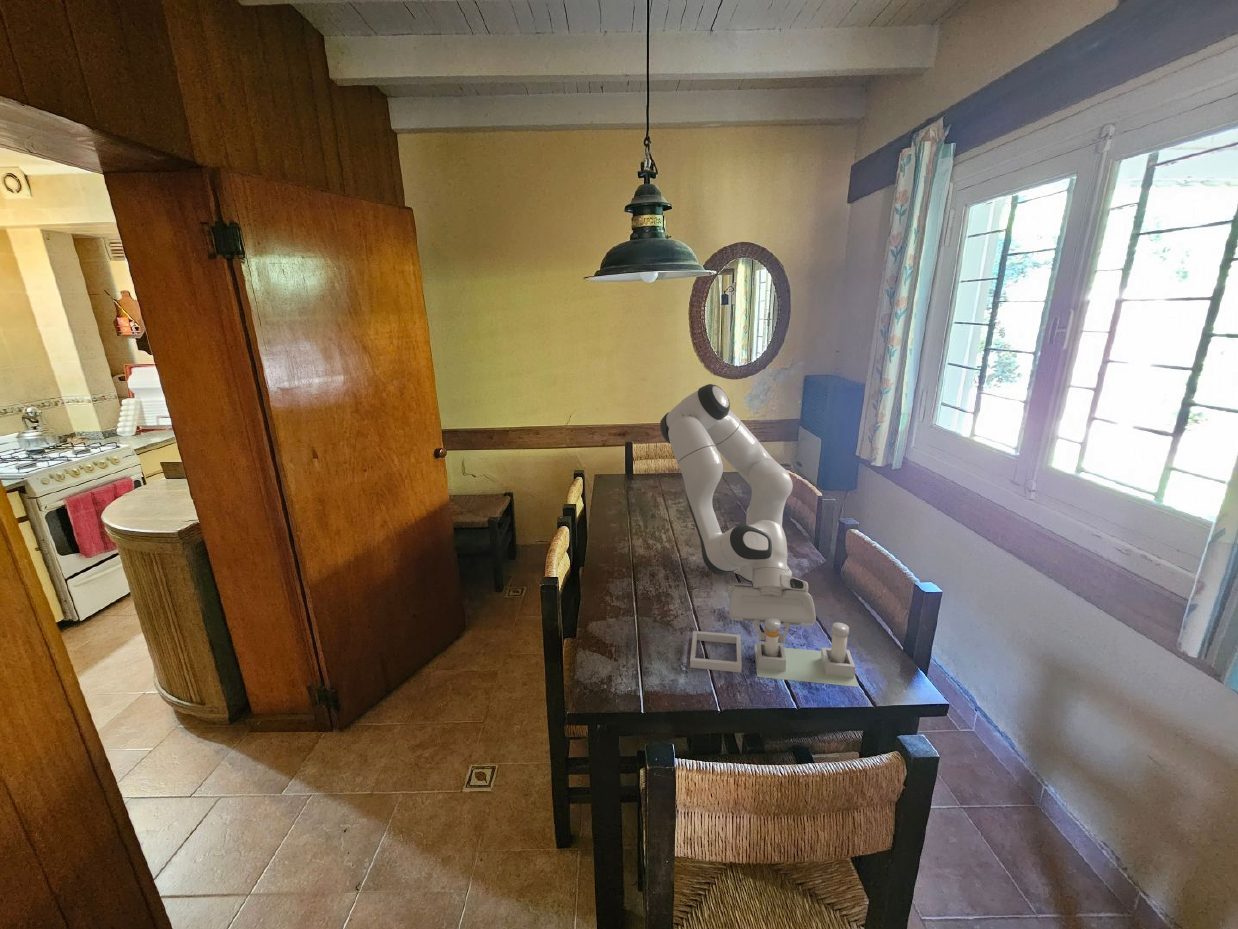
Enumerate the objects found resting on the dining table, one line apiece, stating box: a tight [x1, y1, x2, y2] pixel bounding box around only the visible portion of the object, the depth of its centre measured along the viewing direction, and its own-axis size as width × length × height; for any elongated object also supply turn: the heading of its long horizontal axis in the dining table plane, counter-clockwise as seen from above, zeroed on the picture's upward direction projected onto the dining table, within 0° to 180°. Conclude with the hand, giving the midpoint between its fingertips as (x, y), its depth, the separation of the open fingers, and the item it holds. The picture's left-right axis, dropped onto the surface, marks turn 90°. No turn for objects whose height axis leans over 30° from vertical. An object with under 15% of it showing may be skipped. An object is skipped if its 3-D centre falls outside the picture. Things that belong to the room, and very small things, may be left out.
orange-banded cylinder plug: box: [763, 617, 782, 658], centre depth 121 cm, size 4×4×11 cm
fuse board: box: [753, 641, 860, 688], centre depth 120 cm, size 12×22×4 cm, turn 78°
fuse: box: [829, 622, 850, 664], centre depth 117 cm, size 4×4×11 cm
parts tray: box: [689, 630, 743, 673], centre depth 125 cm, size 12×12×3 cm
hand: (772, 641), depth 120 cm, fingers closed on orange-banded cylinder plug, 3 cm apart
